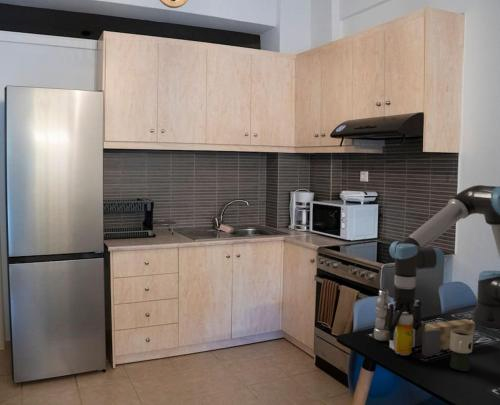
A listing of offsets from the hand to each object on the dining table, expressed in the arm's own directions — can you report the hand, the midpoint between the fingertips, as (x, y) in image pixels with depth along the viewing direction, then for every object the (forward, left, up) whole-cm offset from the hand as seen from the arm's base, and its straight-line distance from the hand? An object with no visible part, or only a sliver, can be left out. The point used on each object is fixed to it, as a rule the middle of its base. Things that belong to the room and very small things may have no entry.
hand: (401, 347), depth 179 cm
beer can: (0, 0, -2) cm, 2 cm away
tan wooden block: (-22, 0, -2) cm, 22 cm away
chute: (-10, 0, -2) cm, 10 cm away
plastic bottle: (-1, -13, -2) cm, 13 cm away
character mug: (-10, +18, -2) cm, 21 cm away
